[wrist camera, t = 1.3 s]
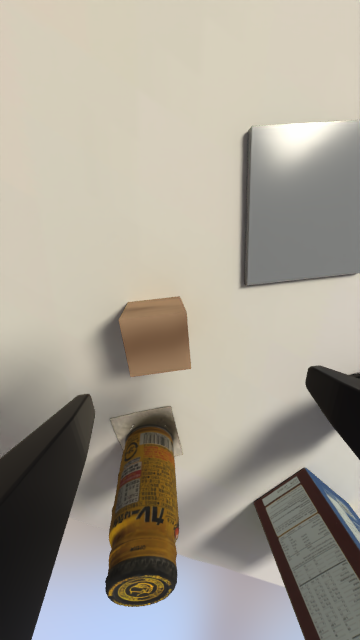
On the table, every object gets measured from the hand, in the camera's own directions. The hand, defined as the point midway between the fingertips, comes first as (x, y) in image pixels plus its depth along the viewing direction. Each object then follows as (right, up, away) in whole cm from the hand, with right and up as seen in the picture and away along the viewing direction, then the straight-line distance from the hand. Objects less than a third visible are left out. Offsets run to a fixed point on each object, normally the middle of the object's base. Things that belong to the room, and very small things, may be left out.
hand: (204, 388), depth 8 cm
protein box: (+20, -28, +26) cm, 43 cm away
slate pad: (+11, +13, +10) cm, 19 cm away
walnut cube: (-3, +3, +12) cm, 13 cm away
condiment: (-5, -12, +17) cm, 22 cm away
